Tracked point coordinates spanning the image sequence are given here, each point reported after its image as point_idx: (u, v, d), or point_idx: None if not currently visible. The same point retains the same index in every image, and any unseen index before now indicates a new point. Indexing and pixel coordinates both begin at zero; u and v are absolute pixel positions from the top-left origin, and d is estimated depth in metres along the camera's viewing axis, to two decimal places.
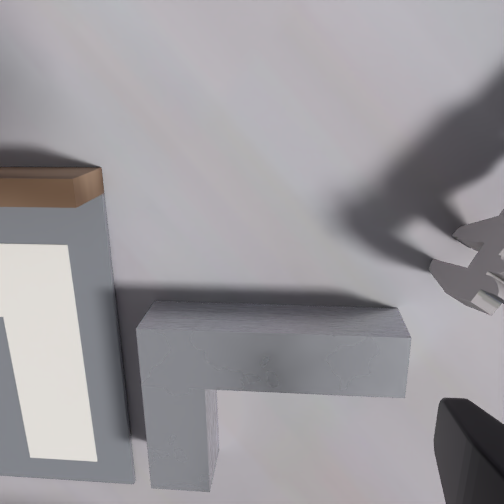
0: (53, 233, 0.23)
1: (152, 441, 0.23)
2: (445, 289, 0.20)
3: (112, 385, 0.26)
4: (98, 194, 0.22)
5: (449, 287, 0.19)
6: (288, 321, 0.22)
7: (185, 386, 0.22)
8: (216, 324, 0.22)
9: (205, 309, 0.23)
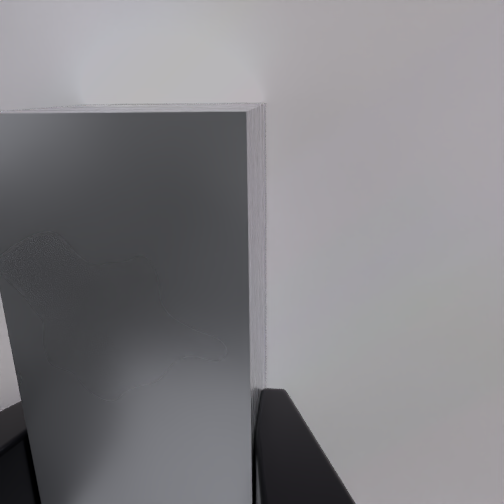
0: None
1: None
2: None
3: None
4: None
5: None
6: None
7: None
8: None
9: None
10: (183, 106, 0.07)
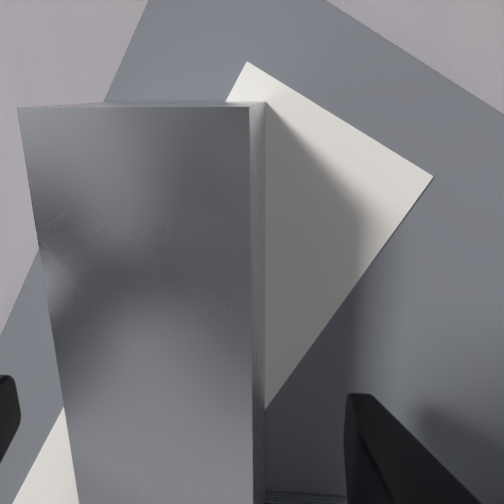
0: None
1: None
2: None
3: None
4: None
5: None
6: None
7: None
8: None
9: None
10: (194, 103, 0.08)
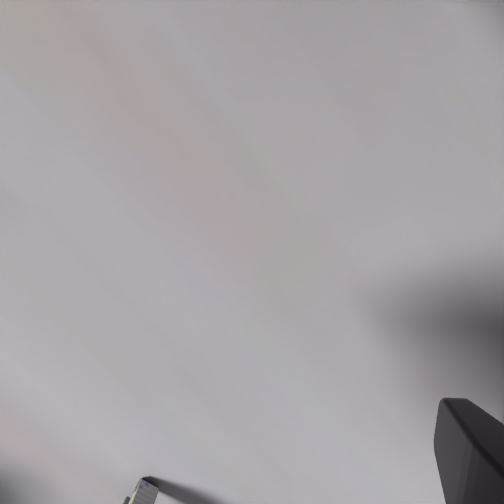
0: None
1: None
2: None
3: None
4: None
5: None
6: None
7: None
8: None
9: None
10: None
